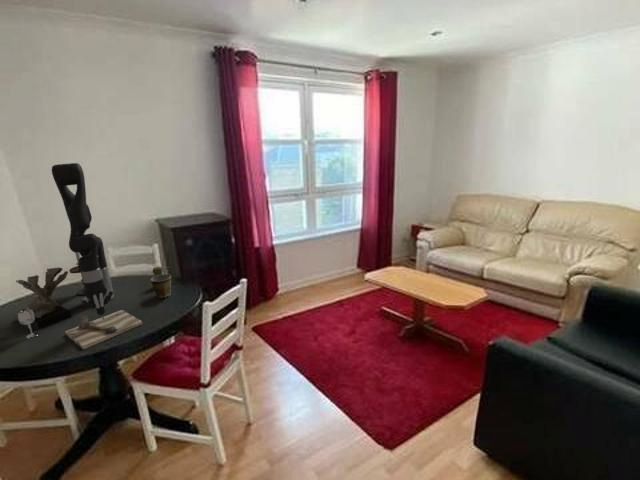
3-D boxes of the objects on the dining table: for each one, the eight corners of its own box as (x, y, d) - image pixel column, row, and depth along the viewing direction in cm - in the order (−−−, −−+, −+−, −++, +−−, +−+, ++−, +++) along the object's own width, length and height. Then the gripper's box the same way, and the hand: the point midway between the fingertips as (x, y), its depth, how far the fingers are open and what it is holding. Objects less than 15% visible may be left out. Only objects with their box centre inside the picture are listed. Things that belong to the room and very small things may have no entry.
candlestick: (93, 286, 210) (78, 228, 200) (101, 290, 203) (87, 230, 193) (72, 293, 201) (56, 232, 191) (80, 297, 195) (64, 235, 185)
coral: (17, 317, 177) (4, 276, 171) (64, 300, 192) (54, 262, 186) (36, 330, 163) (23, 286, 157) (85, 311, 178) (75, 271, 172)
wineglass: (30, 332, 161) (22, 308, 157) (43, 331, 161) (36, 307, 158) (20, 339, 155) (12, 314, 152) (35, 338, 156) (27, 313, 152)
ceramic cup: (178, 293, 194) (175, 276, 191) (161, 300, 186) (158, 282, 183) (163, 289, 201) (160, 272, 198) (146, 296, 193) (143, 278, 190)
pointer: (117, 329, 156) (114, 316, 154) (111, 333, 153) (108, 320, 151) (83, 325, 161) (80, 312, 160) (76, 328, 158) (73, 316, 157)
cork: (162, 288, 202) (158, 269, 199) (152, 287, 204) (148, 269, 201) (168, 283, 208) (165, 265, 205) (159, 283, 209) (155, 265, 206)
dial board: (65, 334, 158) (64, 331, 157) (122, 312, 175) (121, 309, 175) (83, 349, 145) (82, 345, 145) (142, 324, 163) (142, 320, 163)
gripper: (106, 272, 166) (114, 306, 171) (73, 281, 157) (82, 317, 162) (112, 276, 161) (120, 311, 166) (77, 285, 152) (87, 322, 157)
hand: (101, 314), depth 164 cm, fingers closed
